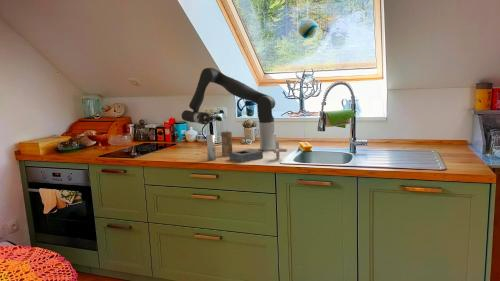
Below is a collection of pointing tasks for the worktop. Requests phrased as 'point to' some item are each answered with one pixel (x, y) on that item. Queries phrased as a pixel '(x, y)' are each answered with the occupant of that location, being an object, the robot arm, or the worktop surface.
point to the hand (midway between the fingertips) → (215, 119)
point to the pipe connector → (277, 150)
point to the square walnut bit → (226, 143)
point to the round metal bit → (211, 147)
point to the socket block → (246, 155)
